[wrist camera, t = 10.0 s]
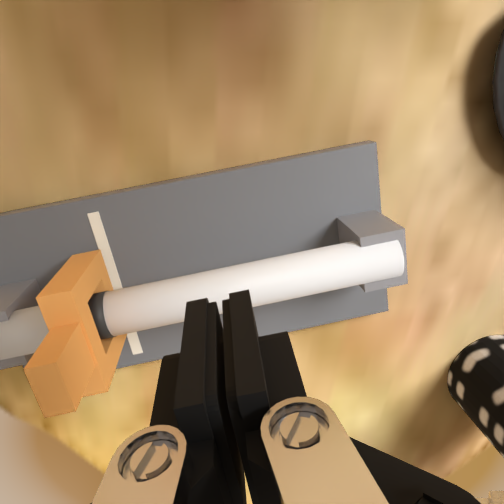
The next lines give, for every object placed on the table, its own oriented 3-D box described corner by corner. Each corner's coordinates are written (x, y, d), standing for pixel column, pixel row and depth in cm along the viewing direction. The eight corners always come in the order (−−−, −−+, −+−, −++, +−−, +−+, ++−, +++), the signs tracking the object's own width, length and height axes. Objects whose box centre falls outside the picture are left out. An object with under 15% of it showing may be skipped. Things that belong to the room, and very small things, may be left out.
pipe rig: (368, 140, 32) (415, 151, 25) (381, 302, 37) (423, 350, 30) (-29, 218, 31) (-98, 253, 24) (38, 375, 36) (-3, 443, 29)
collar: (100, 249, 30) (46, 325, 20) (127, 333, 33) (91, 440, 22) (72, 255, 30) (3, 334, 20) (101, 338, 32) (53, 448, 22)
